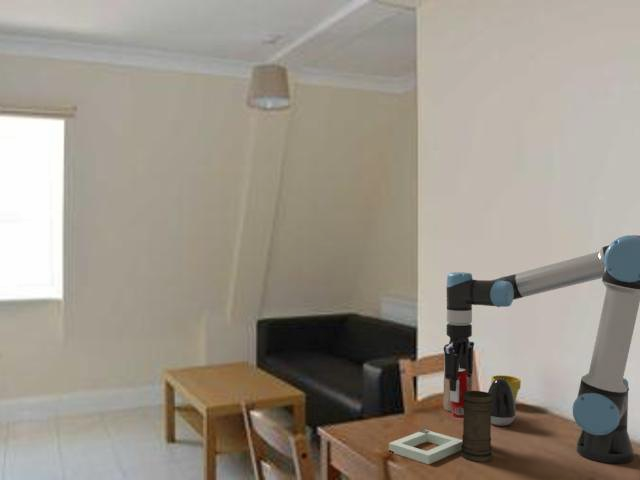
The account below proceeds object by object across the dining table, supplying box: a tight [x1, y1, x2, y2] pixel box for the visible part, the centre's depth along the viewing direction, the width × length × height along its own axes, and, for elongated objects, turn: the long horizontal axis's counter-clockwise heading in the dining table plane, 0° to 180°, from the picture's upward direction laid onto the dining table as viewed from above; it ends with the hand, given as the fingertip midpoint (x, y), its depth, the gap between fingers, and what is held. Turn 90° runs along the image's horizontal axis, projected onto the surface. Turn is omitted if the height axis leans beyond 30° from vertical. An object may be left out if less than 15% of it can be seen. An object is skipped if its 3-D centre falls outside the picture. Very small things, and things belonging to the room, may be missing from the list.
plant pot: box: [490, 374, 521, 402], centre depth 244 cm, size 10×10×10 cm
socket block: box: [388, 429, 463, 465], centre depth 195 cm, size 14×18×3 cm
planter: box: [442, 343, 474, 413], centre depth 237 cm, size 10×10×23 cm
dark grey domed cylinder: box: [487, 378, 517, 427], centre depth 221 cm, size 10×10×15 cm
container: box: [460, 390, 493, 463], centre depth 190 cm, size 9×9×18 cm
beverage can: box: [449, 367, 469, 420], centre depth 203 cm, size 6×6×15 cm
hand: (459, 399), depth 202 cm, fingers open, 4 cm apart
